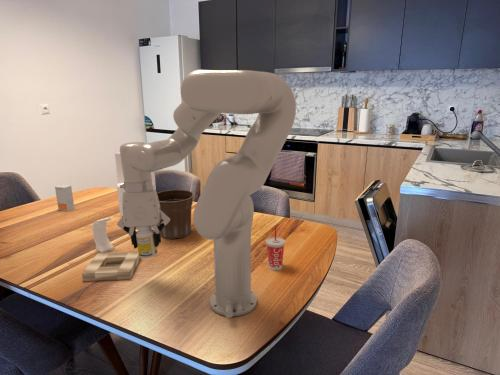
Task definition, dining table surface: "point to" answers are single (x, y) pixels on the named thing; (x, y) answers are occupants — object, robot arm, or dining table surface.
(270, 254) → the beverage cup
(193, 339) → the dining table surface
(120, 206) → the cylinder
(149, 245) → the supplement bottle
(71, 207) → the skincare box
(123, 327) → the dining table surface
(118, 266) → the socket block
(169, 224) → the plant pot
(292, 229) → the dining table surface
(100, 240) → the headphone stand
